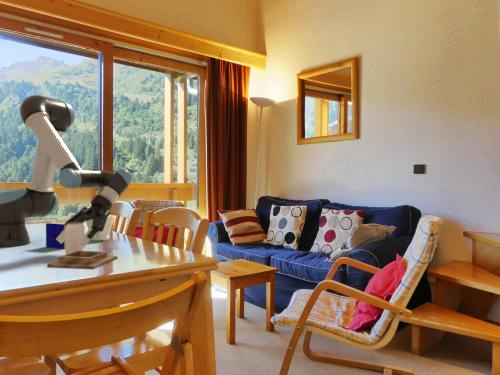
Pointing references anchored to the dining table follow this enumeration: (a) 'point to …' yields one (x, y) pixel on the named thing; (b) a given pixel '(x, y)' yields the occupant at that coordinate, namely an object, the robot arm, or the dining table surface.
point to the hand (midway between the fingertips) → (69, 243)
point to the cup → (106, 231)
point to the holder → (83, 259)
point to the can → (74, 237)
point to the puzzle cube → (54, 234)
